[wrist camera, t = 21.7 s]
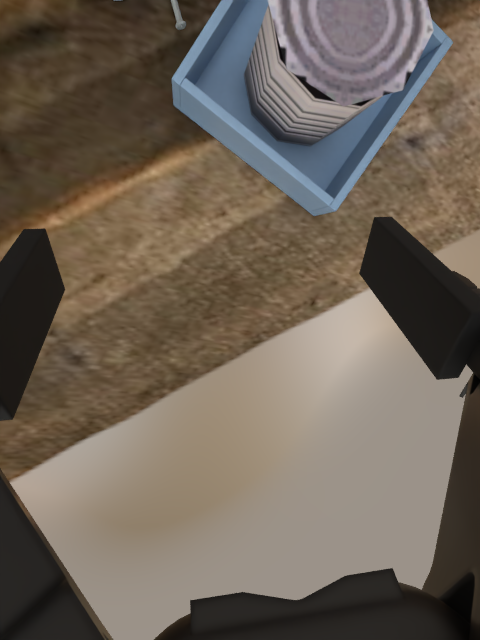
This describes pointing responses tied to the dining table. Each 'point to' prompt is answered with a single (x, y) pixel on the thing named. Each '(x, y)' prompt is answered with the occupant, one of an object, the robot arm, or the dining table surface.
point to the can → (331, 62)
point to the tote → (255, 141)
